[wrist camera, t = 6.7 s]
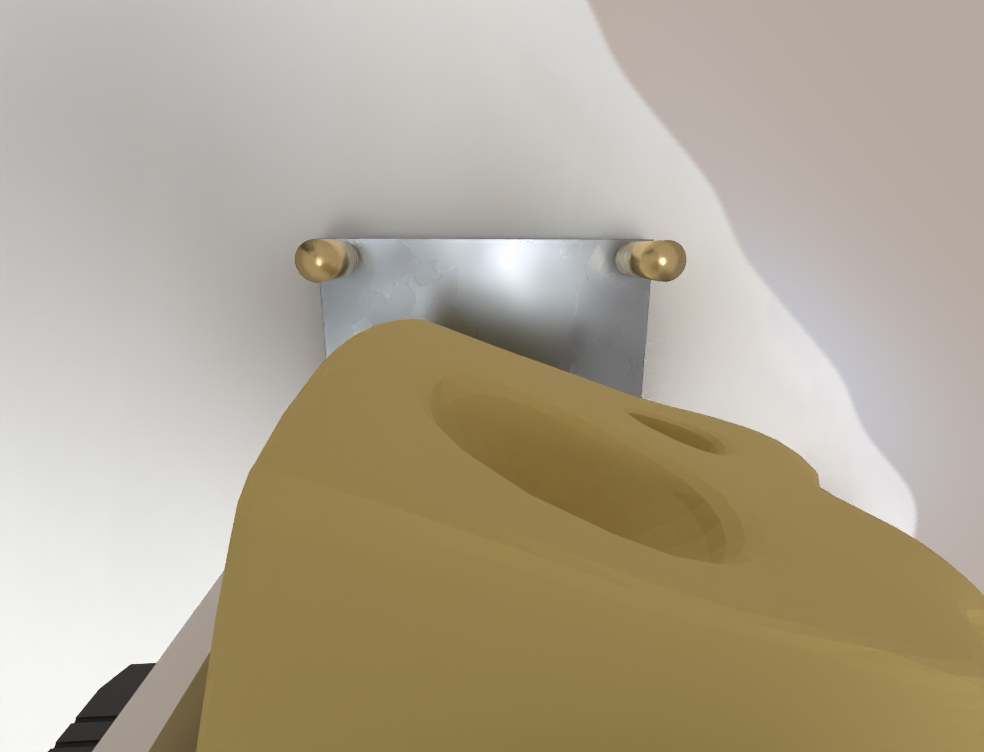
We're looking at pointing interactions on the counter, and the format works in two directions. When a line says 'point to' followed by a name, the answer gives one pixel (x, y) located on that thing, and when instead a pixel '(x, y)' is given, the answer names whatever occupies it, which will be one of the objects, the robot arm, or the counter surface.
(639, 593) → the cheese
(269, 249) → the counter surface
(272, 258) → the counter surface
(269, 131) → the counter surface
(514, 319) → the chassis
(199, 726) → the robot arm
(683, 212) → the counter surface
